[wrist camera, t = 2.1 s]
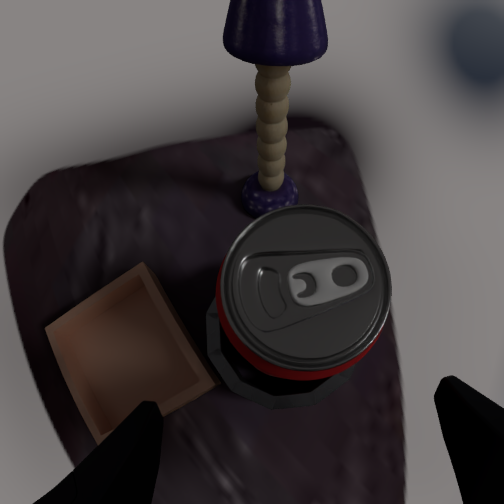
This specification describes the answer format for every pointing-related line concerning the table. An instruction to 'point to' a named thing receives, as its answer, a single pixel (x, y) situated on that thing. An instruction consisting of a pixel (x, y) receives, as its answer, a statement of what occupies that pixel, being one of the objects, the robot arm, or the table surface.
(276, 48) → the toy lamp
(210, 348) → the steel collar
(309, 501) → the table surface
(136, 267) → the terracotta tray
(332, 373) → the beverage can
